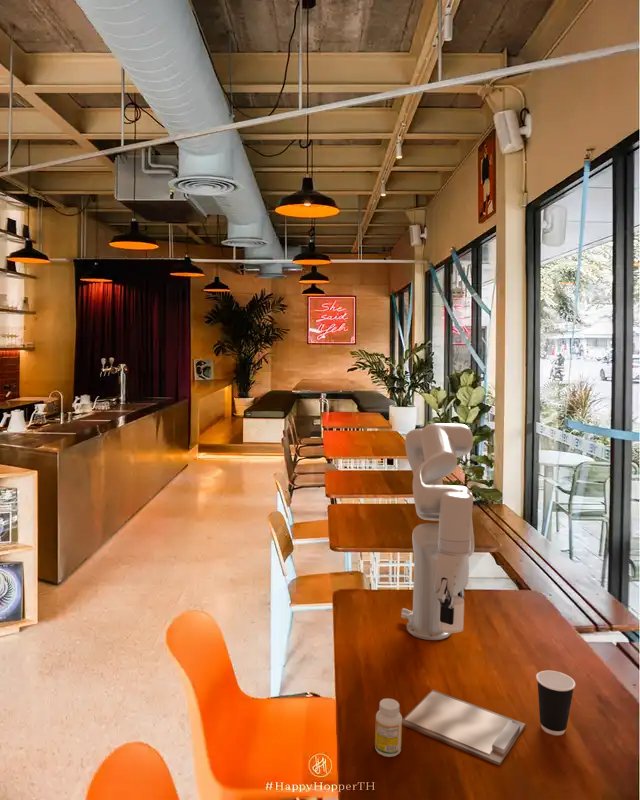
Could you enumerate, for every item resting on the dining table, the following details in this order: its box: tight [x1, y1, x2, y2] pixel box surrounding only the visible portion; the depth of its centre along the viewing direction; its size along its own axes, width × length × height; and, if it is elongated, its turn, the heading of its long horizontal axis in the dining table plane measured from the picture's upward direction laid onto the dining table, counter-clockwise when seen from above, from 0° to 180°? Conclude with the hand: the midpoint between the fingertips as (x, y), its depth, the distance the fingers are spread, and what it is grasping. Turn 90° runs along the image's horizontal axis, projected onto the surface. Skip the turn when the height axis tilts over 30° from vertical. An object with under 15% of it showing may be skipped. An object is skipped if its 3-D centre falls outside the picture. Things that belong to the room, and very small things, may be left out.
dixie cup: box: [535, 669, 576, 736], centre depth 132 cm, size 8×8×11 cm
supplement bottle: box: [374, 698, 403, 758], centre depth 124 cm, size 5×5×10 cm
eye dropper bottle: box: [439, 591, 465, 634], centre depth 147 cm, size 4×6×12 cm
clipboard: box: [402, 689, 526, 767], centre depth 133 cm, size 22×16×2 cm
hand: (451, 618), depth 147 cm, fingers closed on eye dropper bottle, 4 cm apart
